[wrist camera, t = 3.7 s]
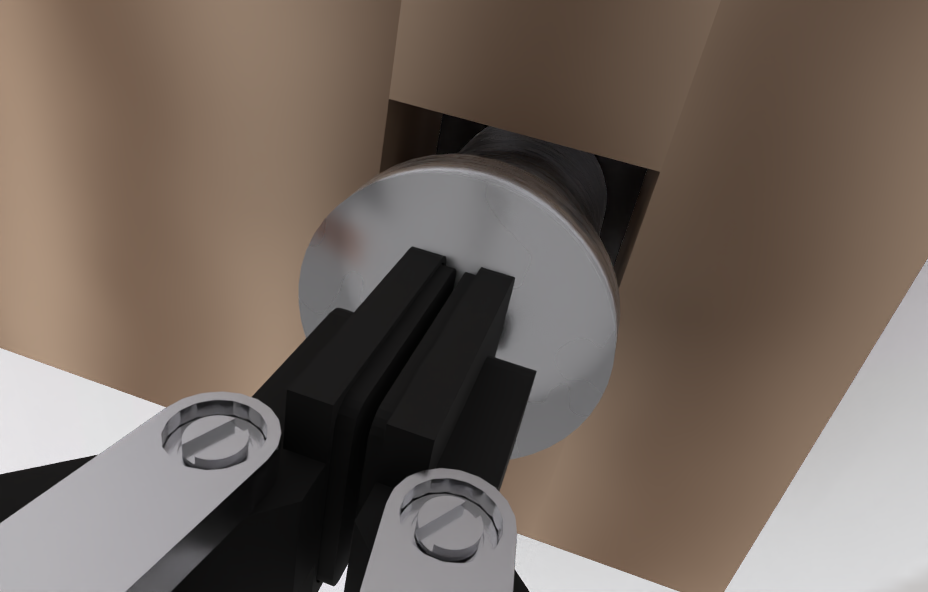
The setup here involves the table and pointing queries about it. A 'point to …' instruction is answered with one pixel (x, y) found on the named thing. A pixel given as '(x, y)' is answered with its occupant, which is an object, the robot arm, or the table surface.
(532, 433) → the grey plunger
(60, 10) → the button board
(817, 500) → the table surface
